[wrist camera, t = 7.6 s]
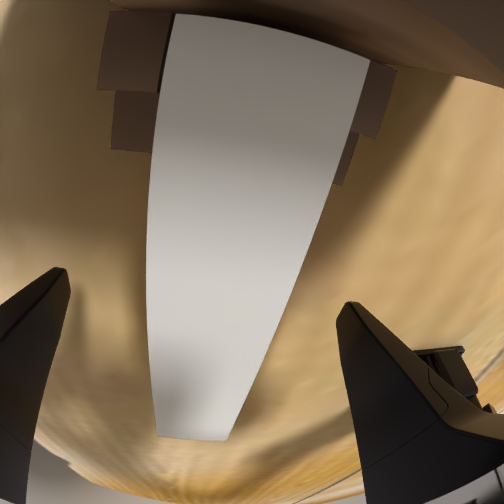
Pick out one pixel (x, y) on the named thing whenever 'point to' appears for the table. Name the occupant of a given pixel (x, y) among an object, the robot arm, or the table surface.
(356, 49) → the brown wooden block
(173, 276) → the bed rail
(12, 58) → the table surface
